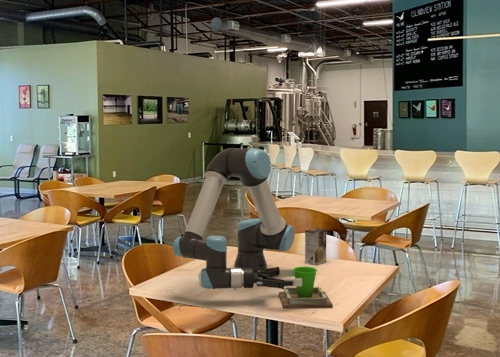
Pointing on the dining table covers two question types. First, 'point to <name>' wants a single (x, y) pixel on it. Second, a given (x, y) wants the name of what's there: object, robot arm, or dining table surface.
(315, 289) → the jig cradle
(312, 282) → the cup
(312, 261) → the coffee box
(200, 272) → the elephant figurine
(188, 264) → the dining table surface
